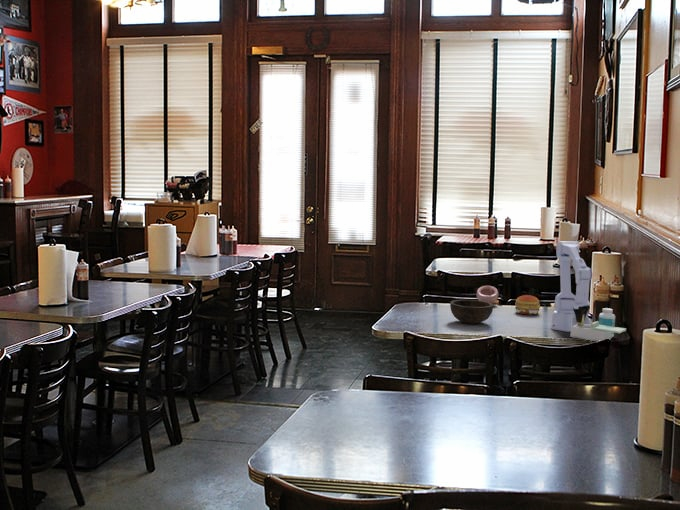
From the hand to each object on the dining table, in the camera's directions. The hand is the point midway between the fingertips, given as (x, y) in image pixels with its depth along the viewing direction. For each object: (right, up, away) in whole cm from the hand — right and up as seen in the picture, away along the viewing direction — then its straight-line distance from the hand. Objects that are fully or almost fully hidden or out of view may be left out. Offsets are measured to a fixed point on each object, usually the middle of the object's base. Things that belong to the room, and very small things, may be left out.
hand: (580, 321), depth 397 cm
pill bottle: (+15, -8, +9) cm, 19 cm away
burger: (-11, -1, +62) cm, 63 cm away
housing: (+5, -8, +2) cm, 10 cm away
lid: (+12, -3, -3) cm, 13 cm away
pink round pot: (-29, +3, +84) cm, 89 cm away
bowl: (-47, -3, +31) cm, 56 cm away
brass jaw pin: (0, -2, 0) cm, 2 cm away
